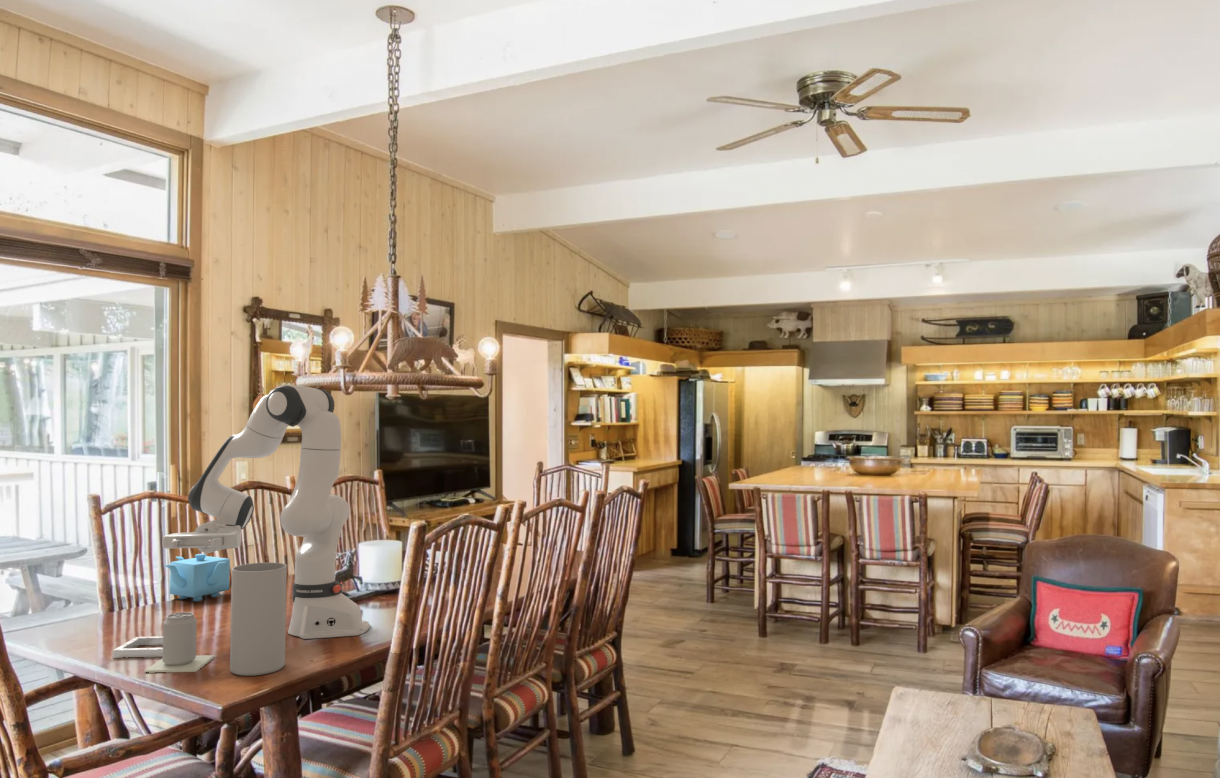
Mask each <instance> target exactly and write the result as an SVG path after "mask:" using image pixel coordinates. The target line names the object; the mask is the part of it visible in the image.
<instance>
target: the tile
mask: <svg viewBox="0 0 1220 778" xmlns="http://www.w3.org/2000/svg"><path fill="white" fill-rule="evenodd" d="M213 659H215V654H211V655H210V654H208V655H207V654H204V655H200V654H199V655H197V654H196V658H195V659H194V660H193V661H192V662H191V663H189V664H186V665H180V666H168V665H166V664H165V663H164V662H163V661H162V658H161V659H159V660H158V661H156V662H155V663H153V664H152V665H150V666H149V667H148V668H146V669H145V670H144V674H147V673H146V672H149V673H148V674H154V673H155V672H166V673H193V672H194V673H197V672H198V671H199V670H201V669H202V668H203V667H204V666H206V665H207V664H208V663H210V662H211V661H213ZM205 664H206V665H205ZM200 668H201V669H200ZM155 674H156V673H155Z"/></svg>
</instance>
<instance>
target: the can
mask: <svg viewBox="0 0 1220 778" xmlns="http://www.w3.org/2000/svg"><path fill="white" fill-rule="evenodd" d="M194 615H195V613H194V612H191V611H189V612H188V611H181V612H173V613H170V614H169V613H168V615H165V616H166V619H164V621H163V622H162V624H163V625H162V636H163V645H162V648H163V654H162V657H161V659H162V661H163V662H164V663H165V664H166V665H168V666H180V665H186V664H189V663H191V662H192V661H193V660H194V659H195V658H196V656H197V636H198V635H197V633H198V632H197V631H198V630H197V628H198V627H197V625H198V624H197V623H198V620H197V619H198V618H196V617H195V616H194Z"/></svg>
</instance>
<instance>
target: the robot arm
mask: <svg viewBox="0 0 1220 778" xmlns="http://www.w3.org/2000/svg"><path fill="white" fill-rule="evenodd" d="M334 411H335V400H334V398H333V396H332V394H331V393H330V392H328V390H325V389H323V388H319V387H311V386H306V385H287V384H286V385H280V386H277V387H275V388H273V389H271V390H270V392H269V393H267V394H266V395H264V396H263V397H261V398H260V399H259V401H258V402H257V404H256V406H255V407H254V408H253V410H252V412H251V413H250V416H249V418H248V419H247V422H246V424H245V426H244V428H243V429H242V431H240V432H239V433H237V434H232V435H230V436H229V437H228V438H227V439H226V440H225V441H224V443H223V444H222V445H221V447H220V448H219V449H218V450H217V452H216V453H215V454H214V456H213V459H212V460H211V461H210V463H209V464H208V466H207V467H206V469H205V471H204V472H203V474H202V475H201V476H200V477H199V479H198V480H197V481H196V483H194V485H193V486H192V487H191V488H190V491H189V493H188V496H187V500H188V503H189V505H190V507H191V509H192V510H193V511H196V512H200V513H203V514H206V515H209V516H211V517H214V518H216V519H214V520H210V521H207V522H203V523H202V524H199V525H198V526H197V527H196V528H195V530H194V531H191V532H175V533H169V534H166V535H163V536H162V540H161V541H162V543H161V545H162V549H167V550H168V549H169V550H170V549H194V548H195V549H197V550H198V551H200V552H201V553H203V554H209V553H210V554H211V553H214V552H219V551H222V550H228V549H237V548H241V546H242V530H243V529H245V528H246V527H247V526H248V524H249V522H250V521H251V519H252V516H253V514H254V512H255V510H254V509H255V506H254V502H253V498H252V496H251V495H249V494H246V493H244V492H242V491H239V490H238V489H237V490H236V489H234V488H231V487H229V486H228V485H225V484H222V483H221V482H220V480H219V478H220V477H221V475H222V474H223V472H224V471H225V469H226V468H227V467H228V464H229V463H230V461H232V459H236V458H247V459H260V458H262V459H263V458H265V457H269V456H271V455H272V454H274V453H275V452H276V451H277V450H278V448H279V447H280V445H281V443H282V441H283V439H284V436H285V434H286V431H287V428H288V427H295V426H298V428H299V429H300V430H301V445H300V455H299V456H300V457H299V467H298V474H297V478H296V482H295V485H294V488H293V491H292V494H291V495H290V499H289V500H288V502H287V504H286V505H284V507H283V509H282V510H281V511H280V517H279V518H280V519H279V521H280V526H281V527H282V530H283V531H284V532H285V533H287V534H288V535H290V536H294V537H303V539H302V543H301V545H300V547H299V549H298V550H297V552H296V554H295V556H294V562H295V563H294V582H293V585H292V596H291V597H292V602H293V606H292V613H291V619H290V623H289V627H288V630H287V633H288V634H289V635H290V636H295V637H299V638H301V639H302V640H303V639H304V640H306V639H307V640H309V639H323V638H325V639H326V638H337V637H354V636H360V635H362V634H364V633H366V632H367V631H368V630H369V629H370V622H369V621H367V620H363V617H362V616H363V615H362V611H361V608H360V606H359V604H357V603H356V602H355V601H353V600H352V599H350V598H349V597H348V596H346V595H345V594H343V593H342V591H343V581H341V582H339V581H338V580H336V560H337V559H336V555H337V551H338V544H339V541H340V537H341V533H342V529H343V527H344V525H345V523H346V522H347V521H348V519H349V517H350V516H349V515H350V506H349V504H348V502H347V500H346V499H345V498H344V497H342V496H340V495H337V494H331V491H332V487H333V486H334V484H335V482H336V481H337V480H338V478H339V475H340V464H341V453H342V450H341V449H342V429H341V427H342V426H341V422H340V418H339V416H338V415H337V414H335V413H334Z"/></svg>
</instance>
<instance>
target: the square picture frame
mask: <svg viewBox="0 0 1220 778" xmlns="http://www.w3.org/2000/svg"><path fill="white" fill-rule="evenodd" d="M139 645H151V646H163V635H162V636H135V637H133V638H131V639H130V640H128V641H126V642H125V643H122V644H121V645H119V646H118V647H116V648H114V649H113V650H112V659H124V658H123V657H126V658H125V659H129V658H128V657H144V658H162V654H163V647H142V648H141V647H140V646H139ZM137 646H138V647H137Z"/></svg>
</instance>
